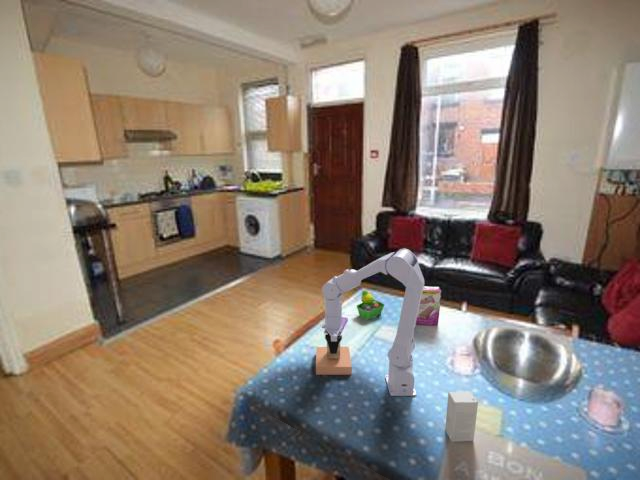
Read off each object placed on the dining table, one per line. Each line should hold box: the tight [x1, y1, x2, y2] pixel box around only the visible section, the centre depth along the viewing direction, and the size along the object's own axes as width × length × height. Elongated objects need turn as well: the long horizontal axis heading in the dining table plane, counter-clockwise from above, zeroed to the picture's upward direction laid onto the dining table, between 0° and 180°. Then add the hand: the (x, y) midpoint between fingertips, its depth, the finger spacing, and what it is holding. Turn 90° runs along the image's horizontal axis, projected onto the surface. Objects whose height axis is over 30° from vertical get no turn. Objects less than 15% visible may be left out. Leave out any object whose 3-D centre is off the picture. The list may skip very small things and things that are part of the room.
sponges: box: [324, 316, 349, 335], centre depth 144 cm, size 7×13×2 cm, turn 162°
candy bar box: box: [415, 285, 442, 327], centre depth 144 cm, size 11×5×16 cm, turn 84°
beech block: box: [326, 341, 341, 359], centre depth 116 cm, size 4×4×6 cm
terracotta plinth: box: [315, 346, 353, 376], centre depth 117 cm, size 12×12×3 cm
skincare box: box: [444, 390, 479, 443], centre depth 86 cm, size 6×4×12 cm
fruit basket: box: [356, 289, 385, 320], centre depth 152 cm, size 11×9×11 cm
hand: (333, 348), depth 116 cm, fingers open, 5 cm apart
